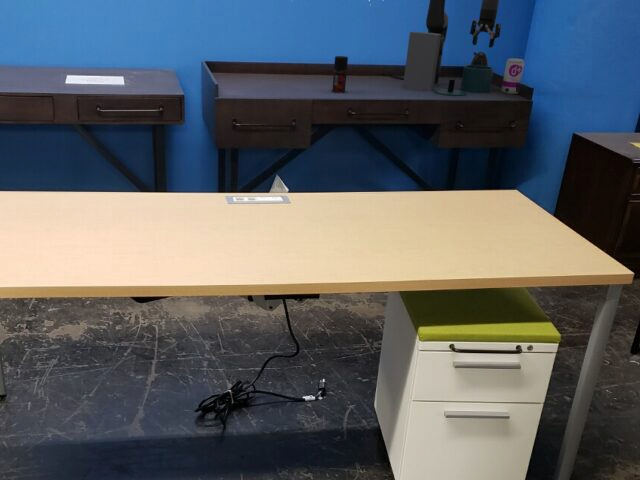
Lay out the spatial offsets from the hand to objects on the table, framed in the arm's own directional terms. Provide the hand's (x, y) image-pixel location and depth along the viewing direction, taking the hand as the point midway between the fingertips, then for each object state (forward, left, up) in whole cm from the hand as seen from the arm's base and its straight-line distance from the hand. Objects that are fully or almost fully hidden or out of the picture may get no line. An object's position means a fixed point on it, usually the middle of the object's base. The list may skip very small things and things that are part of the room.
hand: (482, 46), depth 365 cm
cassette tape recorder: (-19, -20, -20) cm, 34 cm away
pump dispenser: (-11, +19, -20) cm, 30 cm away
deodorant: (-38, -57, -21) cm, 71 cm away
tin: (0, 0, -20) cm, 20 cm away
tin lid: (-3, -17, -20) cm, 26 cm away
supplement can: (+12, +12, -20) cm, 27 cm away
